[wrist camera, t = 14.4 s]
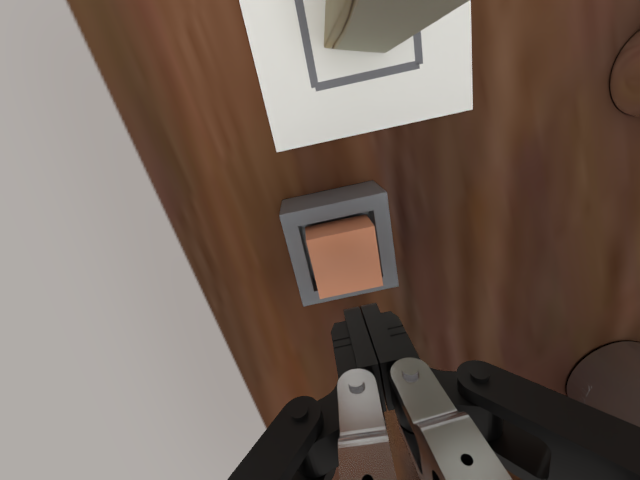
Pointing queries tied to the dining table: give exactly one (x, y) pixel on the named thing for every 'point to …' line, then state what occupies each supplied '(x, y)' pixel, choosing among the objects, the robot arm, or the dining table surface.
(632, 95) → the beer glass
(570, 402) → the robot arm
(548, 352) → the dining table surface
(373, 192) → the button housing
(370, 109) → the paper sheet
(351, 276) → the button
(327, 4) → the skincare box
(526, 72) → the dining table surface
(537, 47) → the dining table surface
